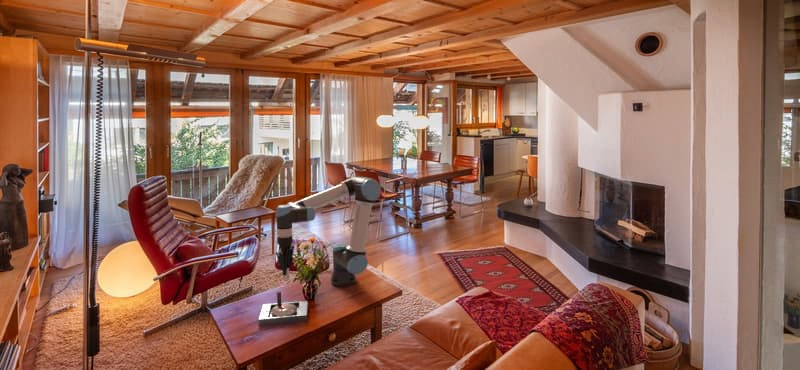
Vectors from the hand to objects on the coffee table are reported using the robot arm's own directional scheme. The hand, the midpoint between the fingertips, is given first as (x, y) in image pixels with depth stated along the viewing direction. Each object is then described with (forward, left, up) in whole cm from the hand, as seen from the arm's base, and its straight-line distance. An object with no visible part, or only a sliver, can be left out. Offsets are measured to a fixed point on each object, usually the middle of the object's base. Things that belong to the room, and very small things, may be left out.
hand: (286, 280), depth 213 cm
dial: (+1, +10, -13) cm, 16 cm away
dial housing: (+1, +11, -15) cm, 18 cm away
